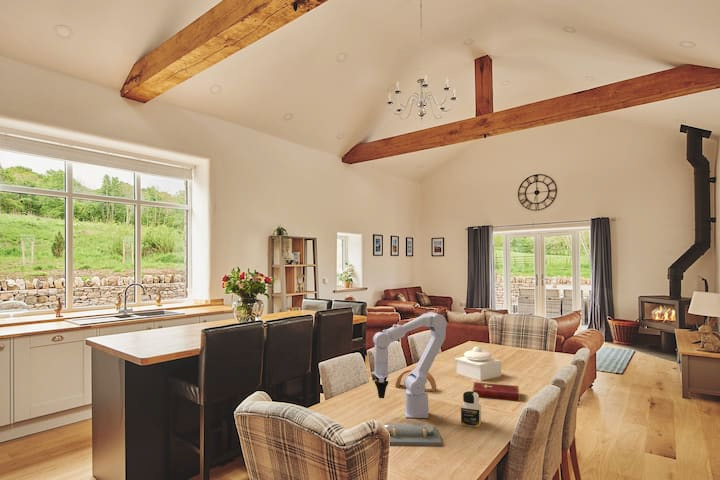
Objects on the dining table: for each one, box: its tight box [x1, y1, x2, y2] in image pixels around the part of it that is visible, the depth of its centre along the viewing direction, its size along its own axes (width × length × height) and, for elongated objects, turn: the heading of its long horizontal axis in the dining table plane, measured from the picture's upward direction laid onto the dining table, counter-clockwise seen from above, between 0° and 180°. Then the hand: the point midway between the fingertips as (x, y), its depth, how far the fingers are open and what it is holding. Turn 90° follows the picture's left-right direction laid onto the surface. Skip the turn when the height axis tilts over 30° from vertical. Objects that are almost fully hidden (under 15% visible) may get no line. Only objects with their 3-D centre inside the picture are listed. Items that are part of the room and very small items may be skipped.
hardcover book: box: [472, 381, 521, 402], centre depth 204 cm, size 12×21×4 cm, turn 72°
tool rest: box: [389, 425, 443, 447], centre depth 156 cm, size 22×14×4 cm, turn 88°
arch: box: [394, 366, 437, 393], centre depth 214 cm, size 6×20×10 cm, turn 67°
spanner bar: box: [383, 421, 434, 436], centre depth 157 cm, size 18×3×4 cm, turn 88°
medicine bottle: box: [460, 390, 482, 428], centre depth 170 cm, size 7×7×12 cm
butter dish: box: [454, 346, 502, 382], centre depth 238 cm, size 18×18×16 cm
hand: (381, 394), depth 175 cm, fingers open, 7 cm apart
